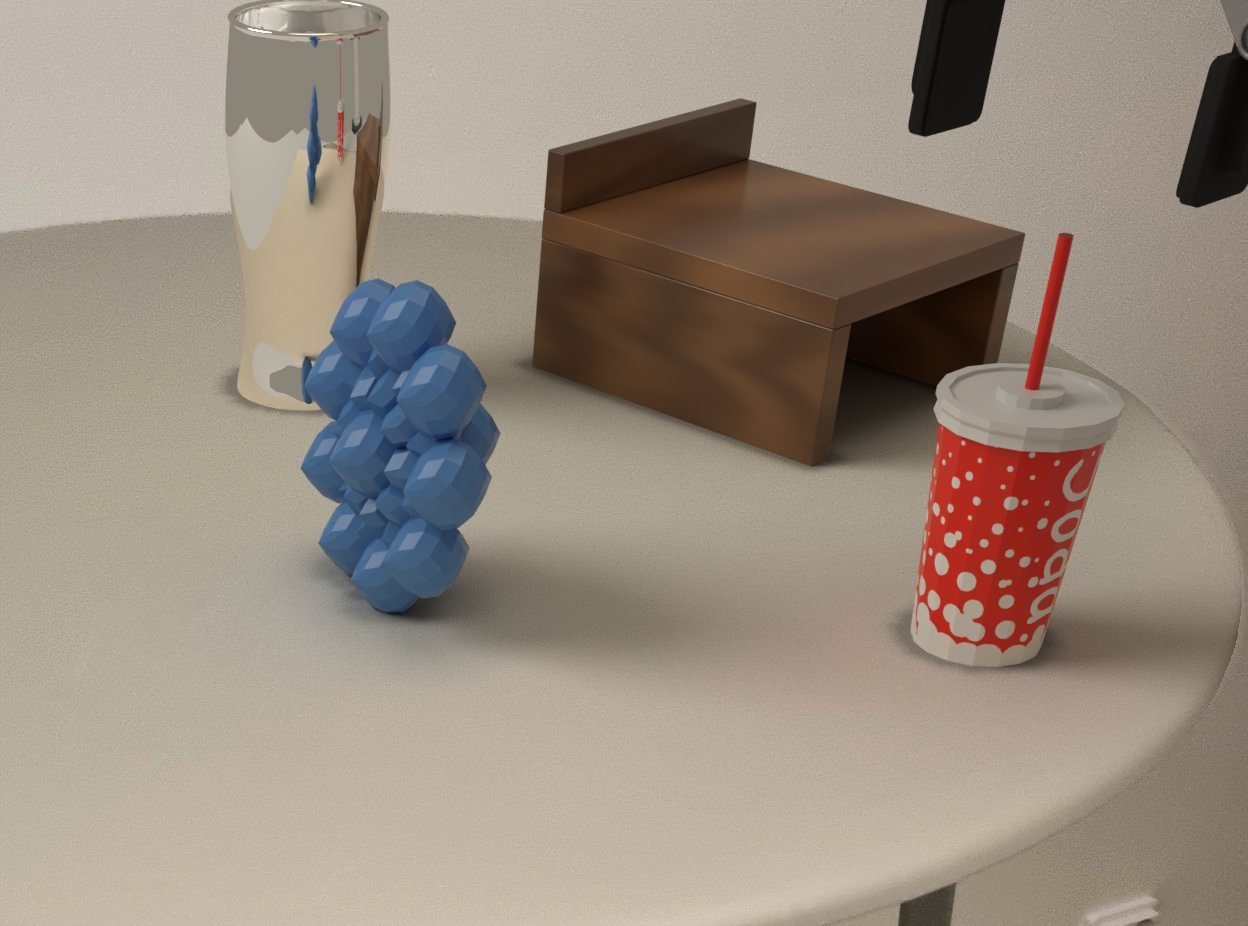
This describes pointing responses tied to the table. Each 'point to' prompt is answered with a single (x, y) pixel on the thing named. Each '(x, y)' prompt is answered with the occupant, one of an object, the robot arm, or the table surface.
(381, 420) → the grapes
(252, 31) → the beer glass
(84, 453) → the table surface
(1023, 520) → the beverage cup
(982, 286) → the shelf
